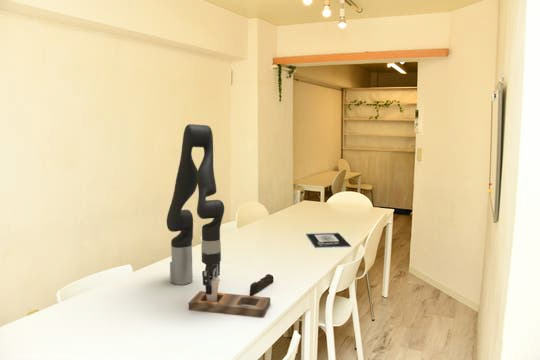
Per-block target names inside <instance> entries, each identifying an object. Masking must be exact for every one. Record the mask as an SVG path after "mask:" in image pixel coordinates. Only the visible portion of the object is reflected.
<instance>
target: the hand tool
mask: <svg viewBox="0 0 540 360" xmlns="http://www.w3.org/2000/svg"><path fill="white" fill-rule="evenodd" d="M272 283H274V276H273V275H272V274H269V273H268V274H265V276H264V277H262V278H260V279H259V280H258V281H254V282H252V283H251V284H250V287H249V296H255V295H257V294H258V293H259V291H260V290H262V289H263V288H265V287H266V286H267V285H269V284H272Z"/></svg>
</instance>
